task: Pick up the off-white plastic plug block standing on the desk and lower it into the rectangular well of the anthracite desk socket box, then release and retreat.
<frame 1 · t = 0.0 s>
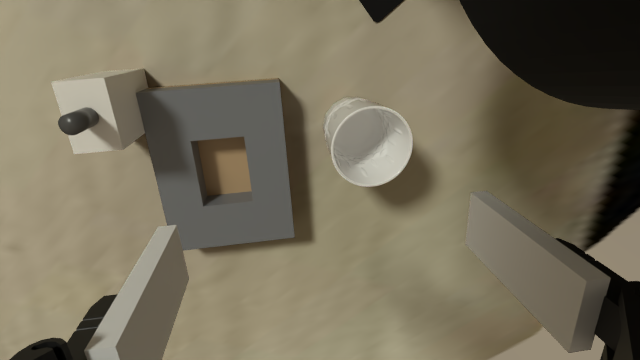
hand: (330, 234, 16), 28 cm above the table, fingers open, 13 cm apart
plug: (131, 98, 39), on the table
socket box: (227, 161, 43), on the table
white cup: (350, 124, 44), on the table
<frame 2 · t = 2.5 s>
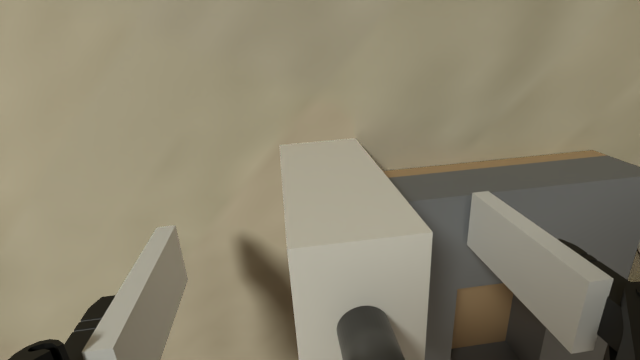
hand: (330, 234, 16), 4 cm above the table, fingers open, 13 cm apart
plug: (321, 194, 20), on the table
socket box: (464, 291, 24), on the table
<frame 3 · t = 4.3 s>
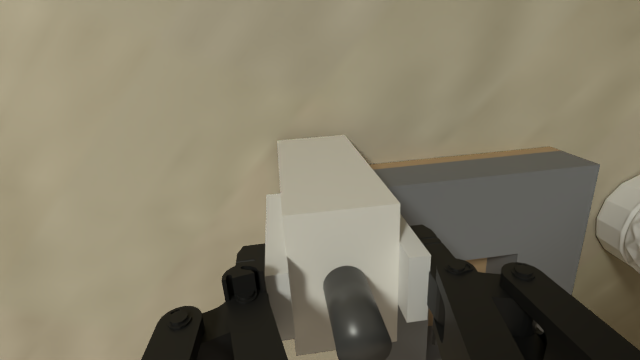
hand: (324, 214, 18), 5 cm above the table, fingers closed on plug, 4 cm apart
plug: (314, 185, 23), point 1 cm above the table, touching gripper
socket box: (442, 273, 27), on the table
white cup: (633, 212, 28), on the table
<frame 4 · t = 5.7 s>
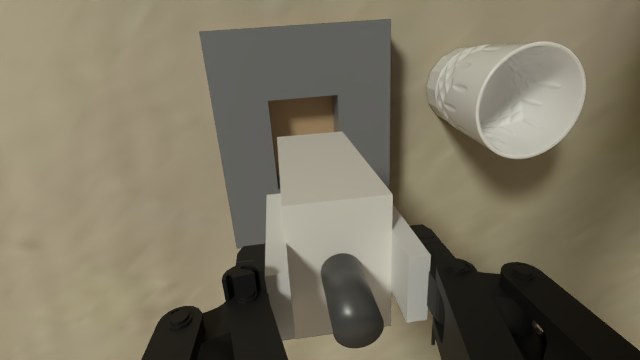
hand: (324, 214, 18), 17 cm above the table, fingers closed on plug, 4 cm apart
plug: (313, 180, 23), point 11 cm above the table, touching gripper
socket box: (302, 132, 34), on the table
white cup: (459, 85, 34), on the table
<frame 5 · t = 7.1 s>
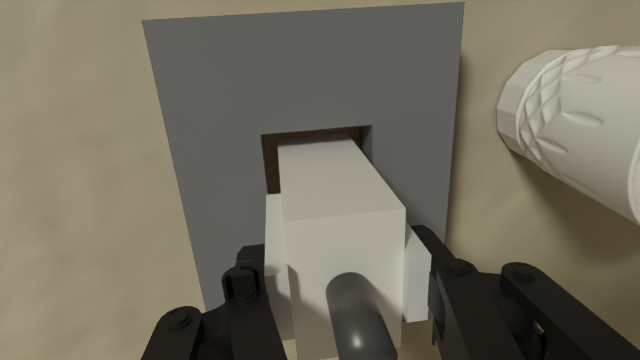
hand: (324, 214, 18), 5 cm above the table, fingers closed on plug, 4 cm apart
plug: (315, 183, 22), point 1 cm above the table, touching gripper, socket box
socket box: (313, 172, 23), on the table
white cup: (542, 104, 23), on the table
when the fingers open (5 cm above the table, at t = 7.6 s): plug stays where it is, resting on socket box.
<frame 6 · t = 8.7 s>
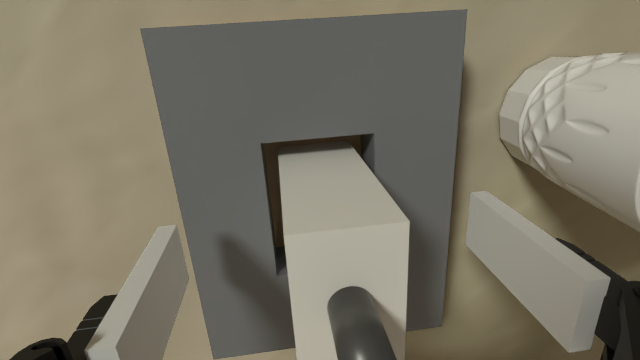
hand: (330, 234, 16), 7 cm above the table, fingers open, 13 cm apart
plug: (316, 192, 22), point 1 cm above the table, touching socket box
socket box: (314, 180, 23), on the table
white cup: (545, 111, 23), on the table
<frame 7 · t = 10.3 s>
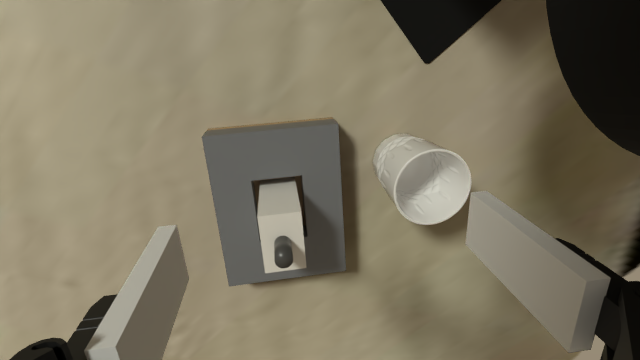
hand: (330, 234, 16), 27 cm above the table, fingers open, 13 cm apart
plug: (280, 202, 44), point 1 cm above the table, touching socket box
socket box: (279, 196, 44), on the table
white cup: (398, 159, 45), on the table
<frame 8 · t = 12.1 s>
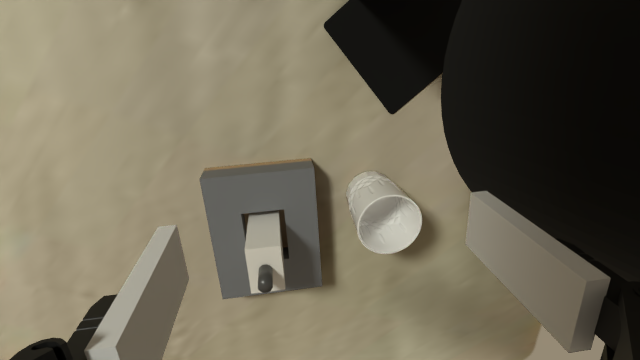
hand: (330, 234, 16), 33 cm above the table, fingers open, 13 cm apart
plug: (266, 228, 51), point 1 cm above the table, touching socket box
socket box: (266, 223, 52), on the table
white cup: (368, 192, 53), on the table
table lamp: (451, 46, 47), on the table
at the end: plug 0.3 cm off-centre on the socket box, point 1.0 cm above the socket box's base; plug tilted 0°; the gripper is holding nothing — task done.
